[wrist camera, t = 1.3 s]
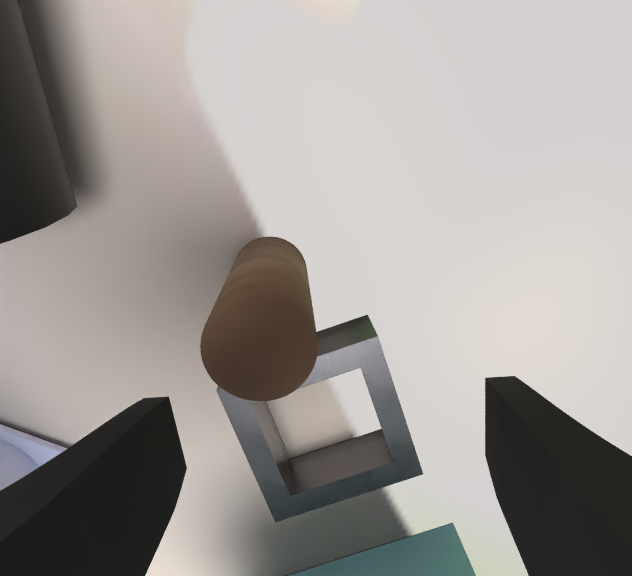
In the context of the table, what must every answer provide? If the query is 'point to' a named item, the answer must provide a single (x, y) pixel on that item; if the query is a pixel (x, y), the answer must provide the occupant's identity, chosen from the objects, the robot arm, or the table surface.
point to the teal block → (405, 558)
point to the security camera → (27, 139)
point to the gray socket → (337, 460)
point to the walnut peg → (262, 324)
